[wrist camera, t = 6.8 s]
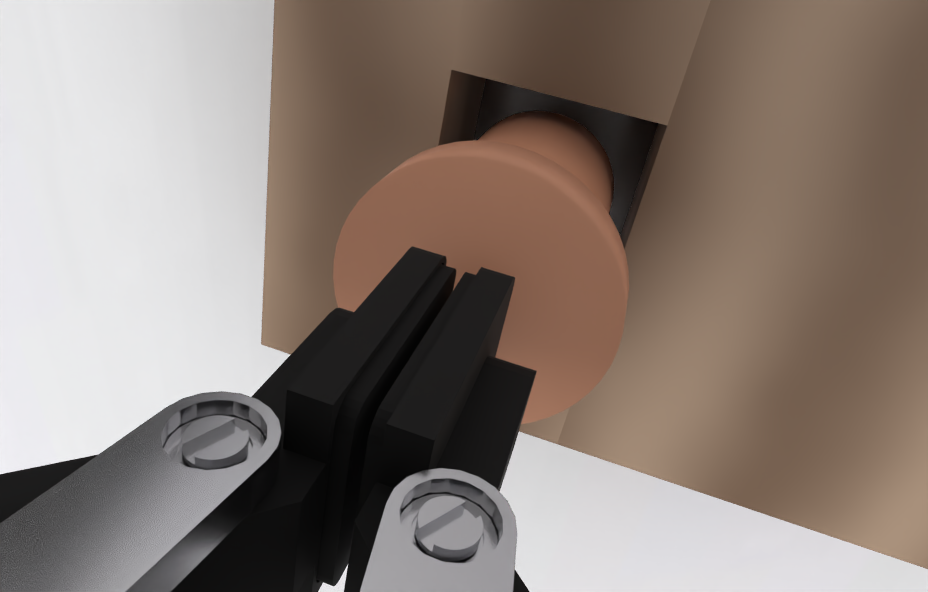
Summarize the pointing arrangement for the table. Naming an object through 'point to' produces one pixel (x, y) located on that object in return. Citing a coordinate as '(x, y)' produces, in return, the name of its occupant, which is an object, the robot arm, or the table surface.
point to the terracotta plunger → (510, 243)
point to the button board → (672, 223)
